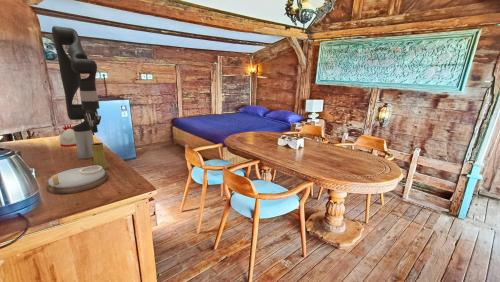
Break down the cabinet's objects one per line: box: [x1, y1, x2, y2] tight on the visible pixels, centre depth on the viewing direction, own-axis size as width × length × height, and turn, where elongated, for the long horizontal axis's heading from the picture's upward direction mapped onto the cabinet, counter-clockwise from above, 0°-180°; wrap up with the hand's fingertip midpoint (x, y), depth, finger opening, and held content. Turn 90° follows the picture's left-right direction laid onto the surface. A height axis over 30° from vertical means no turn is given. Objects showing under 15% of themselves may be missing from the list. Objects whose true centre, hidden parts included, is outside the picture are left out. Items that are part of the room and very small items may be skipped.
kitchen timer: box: [59, 124, 77, 148], centre depth 172 cm, size 14×14×15 cm
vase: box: [92, 142, 108, 170], centre depth 129 cm, size 6×6×14 cm
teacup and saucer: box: [55, 133, 63, 142], centre depth 186 cm, size 9×8×4 cm
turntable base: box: [45, 170, 109, 195], centre depth 113 cm, size 24×24×3 cm
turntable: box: [47, 165, 106, 189], centre depth 112 cm, size 22×22×6 cm
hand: (94, 132), depth 125 cm, fingers closed
